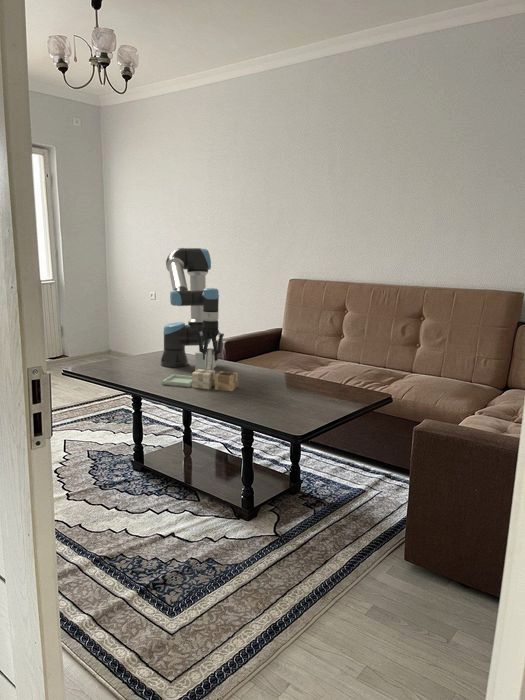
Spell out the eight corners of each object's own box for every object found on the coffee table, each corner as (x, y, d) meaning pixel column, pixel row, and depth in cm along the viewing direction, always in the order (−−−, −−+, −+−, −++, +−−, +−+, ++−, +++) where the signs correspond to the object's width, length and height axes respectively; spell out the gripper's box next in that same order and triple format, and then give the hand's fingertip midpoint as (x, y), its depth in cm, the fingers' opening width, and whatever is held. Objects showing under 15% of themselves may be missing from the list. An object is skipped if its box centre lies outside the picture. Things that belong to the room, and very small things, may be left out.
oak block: (220, 385, 263) (220, 371, 262) (237, 386, 261) (237, 372, 260) (214, 389, 255) (215, 375, 254) (232, 391, 253) (232, 376, 252)
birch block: (198, 383, 266) (198, 369, 265) (214, 384, 264) (214, 370, 263) (192, 387, 258) (192, 373, 257) (208, 389, 256) (208, 374, 255)
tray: (173, 378, 274) (173, 374, 274) (198, 380, 271) (198, 376, 270) (161, 384, 261) (161, 380, 261) (188, 387, 258) (188, 383, 258)
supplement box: (211, 374, 285) (212, 350, 283) (209, 377, 278) (209, 353, 275) (198, 373, 286) (198, 349, 283) (194, 376, 279) (194, 352, 276)
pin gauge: (208, 379, 274) (208, 348, 271) (214, 379, 273) (215, 348, 270) (205, 380, 270) (205, 349, 267) (212, 381, 270) (212, 349, 266)
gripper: (192, 320, 264) (192, 366, 269) (224, 322, 260) (223, 369, 265) (197, 318, 271) (197, 363, 276) (229, 320, 267) (228, 366, 272)
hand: (210, 366), depth 270 cm, fingers closed on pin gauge, 3 cm apart
